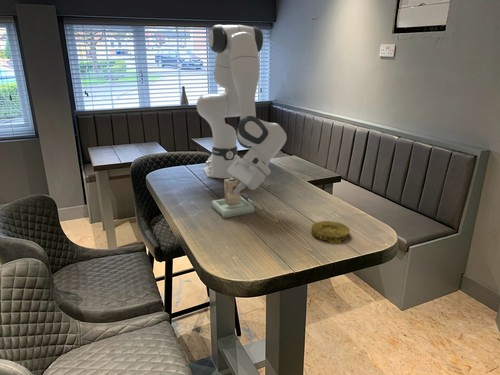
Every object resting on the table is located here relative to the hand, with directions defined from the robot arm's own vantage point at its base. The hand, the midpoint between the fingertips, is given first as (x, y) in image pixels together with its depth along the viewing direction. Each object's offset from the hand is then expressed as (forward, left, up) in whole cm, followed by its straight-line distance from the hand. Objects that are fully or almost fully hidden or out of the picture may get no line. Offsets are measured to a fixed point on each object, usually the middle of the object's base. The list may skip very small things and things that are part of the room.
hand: (230, 190), depth 138 cm
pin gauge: (-6, +10, -8) cm, 14 cm away
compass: (+33, +21, -8) cm, 40 cm away
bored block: (0, +1, -5) cm, 5 cm away
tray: (0, +1, -8) cm, 8 cm away
